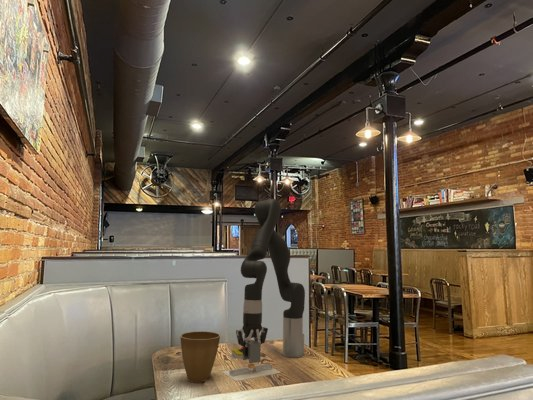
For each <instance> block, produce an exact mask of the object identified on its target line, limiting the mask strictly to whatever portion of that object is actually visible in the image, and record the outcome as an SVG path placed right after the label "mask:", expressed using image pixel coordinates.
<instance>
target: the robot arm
mask: <svg viewBox="0 0 533 400" xmlns="http://www.w3.org/2000/svg"><path fill="white" fill-rule="evenodd" d="M281 210H282V209H281V204H280V202H279V201H278V199H275V198H271V199H270V198H269V199H266V200H261V201H260V200H259V201H257V202H256V203H255V204H254V214H255V216H256V219H257V222H258V224H259V227H260V228H259V230H258V231H257V232H256V233H255V235H254V237H253V238H252V241H251V245H250V249H249V251H248V253H247V255H246V256H245V258H244V259H243V261H242V263H241V265H240V274H241V276H242V277H243V278H246V279H255V282H254V283H249V284H246V285H245V287H244V297H243V298H244V301H243V308H242V310H243V312H242V313H243V314H242V324H243V325H242V327H241V329H237V330H236V331H235V334H236V339H237V342H238V343H237V344H238V346H241V347H243V355H244V356H245V357H248V344H249V342H250V340H252V338H253V340H254V341H257V342H259V343H261V345H262V344H265V343H266V339H267V335H268V330H269V328H267V327H265V326H262V322H263V301H262V299H263V298H262V296H263V286H264V283H265V279H266V275H267V272H268V267H267V264H266V263H265V261H262V260H264V259H265V258H266V256H267V253H268V254H269V256H270V260H271V262H272V263H271V264H272V266H273V270H274V272H275V277H276V280H277V286H278V290H279V291H278V292H279V296H280V298H281V299H282V301H284V302H288V303H290V307H289V308H288V309H284V310H283V313H282V315H283V318H282V356H284V357H287V358H293V359H294V358H301V357H302V356H305V334H304V333H303V331H304V330H303V325H304V324H303V320H304V319H303V316H304V312H305V302H306V301H305V300H306V291H305V286H304V285H303V284H302V283H300V282H293V281H291V280H290V276H289V272H288V270H289V269H288V268H289V266H290V262H291V252H290V250H289V246H288V243H287V242H286V240H285V239H284V238H283V237H282V236H281V235H280V234H278V232H277V231H276V230H275V228H276V225H277V223H278V221H279V219H280V215H281V212H282V211H281Z"/></svg>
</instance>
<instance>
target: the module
mask: <svg viewBox="0 0 533 400" xmlns="http://www.w3.org/2000/svg"><path fill="white" fill-rule="evenodd" d="M261 345H262V344H261V343H259V342H257V341H255V340H254V339H251V340H250V342H249V344H248V357H245V356H244V355H243V358H242V360H243V361H245V360H248V364H255V363H259V362H261V356H260V352H261Z"/></svg>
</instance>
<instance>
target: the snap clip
mask: <svg viewBox="0 0 533 400" xmlns="http://www.w3.org/2000/svg"><path fill="white" fill-rule="evenodd" d="M255 366H256V365H255V363H248V364H247V367H248V368H250V369H252V368H255Z"/></svg>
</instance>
